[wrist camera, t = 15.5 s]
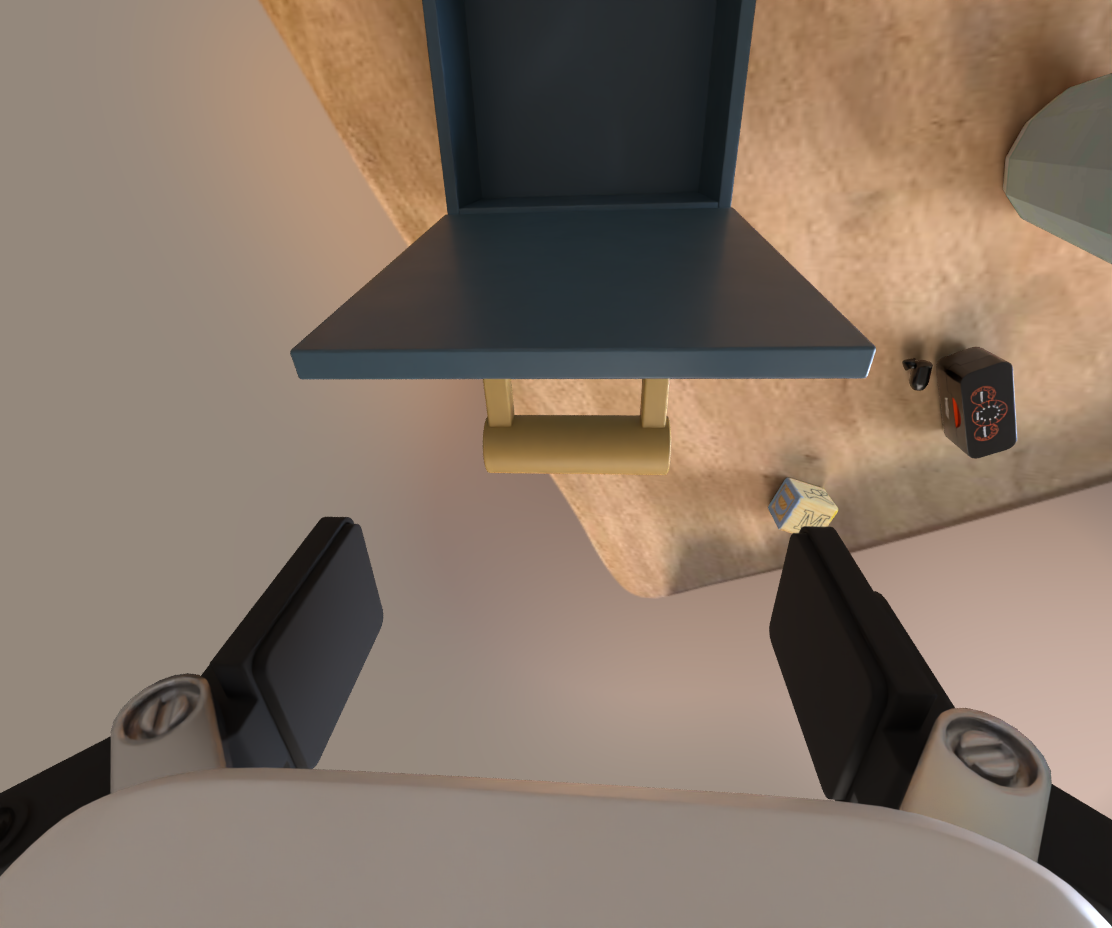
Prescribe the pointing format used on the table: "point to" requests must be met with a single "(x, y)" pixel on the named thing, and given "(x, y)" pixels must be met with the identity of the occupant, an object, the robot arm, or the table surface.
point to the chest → (588, 102)
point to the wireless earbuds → (972, 399)
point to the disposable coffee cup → (1067, 168)
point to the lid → (586, 323)
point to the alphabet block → (801, 506)
